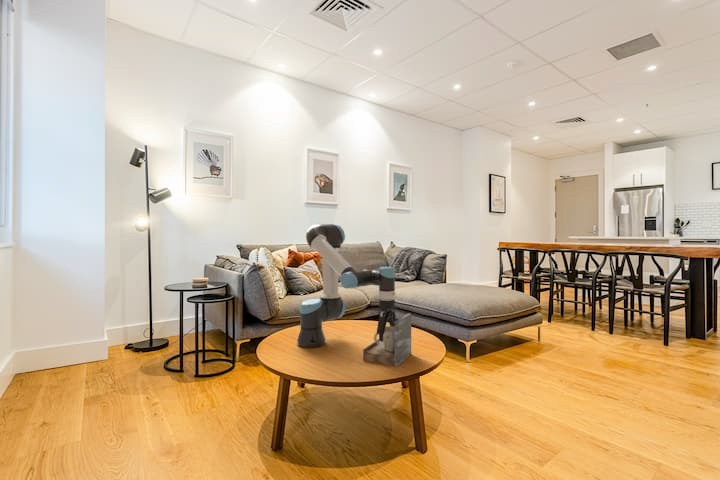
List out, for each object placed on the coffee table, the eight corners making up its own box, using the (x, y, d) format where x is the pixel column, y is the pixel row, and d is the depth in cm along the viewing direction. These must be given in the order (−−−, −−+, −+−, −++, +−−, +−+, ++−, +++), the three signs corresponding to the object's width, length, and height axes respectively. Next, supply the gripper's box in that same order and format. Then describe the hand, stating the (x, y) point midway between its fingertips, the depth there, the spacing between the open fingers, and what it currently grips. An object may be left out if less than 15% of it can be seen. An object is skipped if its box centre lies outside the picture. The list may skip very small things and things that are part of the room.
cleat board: (363, 360, 167) (362, 317, 166) (378, 348, 183) (378, 310, 182) (398, 366, 159) (397, 322, 158) (411, 354, 175) (411, 313, 174)
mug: (399, 352, 165) (398, 331, 165) (372, 351, 167) (372, 330, 167) (400, 346, 173) (400, 326, 173) (375, 345, 176) (374, 325, 175)
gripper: (384, 304, 158) (384, 352, 158) (403, 295, 179) (403, 338, 180) (369, 303, 161) (369, 350, 162) (389, 294, 183) (389, 336, 183)
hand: (387, 344), depth 171 cm, fingers open, 12 cm apart
